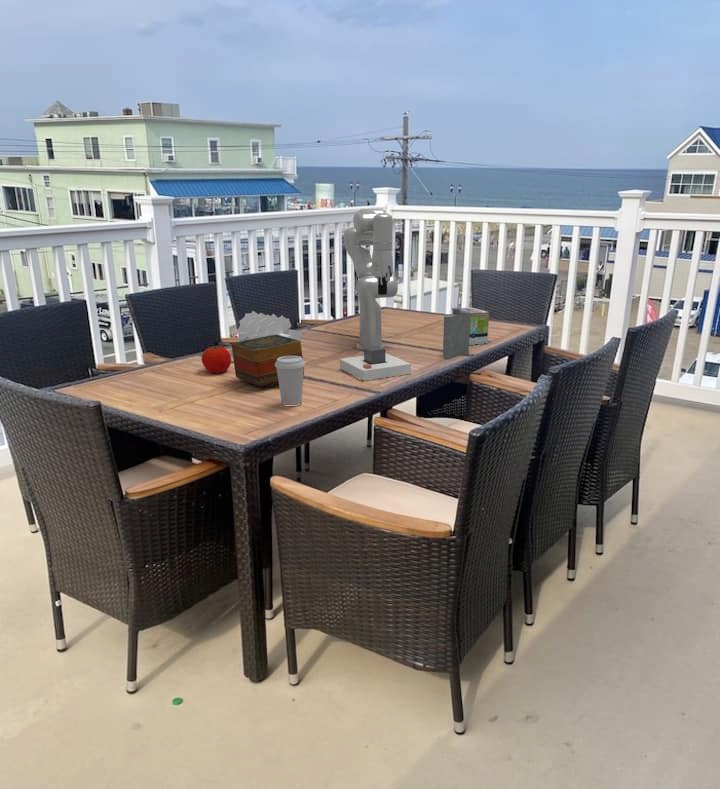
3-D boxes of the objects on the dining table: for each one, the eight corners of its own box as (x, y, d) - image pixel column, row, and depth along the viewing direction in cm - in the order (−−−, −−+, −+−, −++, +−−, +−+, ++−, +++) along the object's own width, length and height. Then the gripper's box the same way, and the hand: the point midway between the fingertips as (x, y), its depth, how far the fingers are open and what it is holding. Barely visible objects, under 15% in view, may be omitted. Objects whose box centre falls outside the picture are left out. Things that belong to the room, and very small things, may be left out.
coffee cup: (307, 398, 202) (305, 354, 197) (305, 408, 192) (304, 362, 188) (278, 399, 201) (276, 355, 197) (275, 408, 192) (272, 362, 188)
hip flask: (447, 359, 249) (449, 311, 243) (439, 357, 252) (440, 309, 246) (469, 352, 260) (472, 306, 254) (462, 351, 263) (463, 305, 257)
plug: (364, 368, 234) (364, 347, 232) (377, 366, 237) (377, 346, 234) (371, 371, 229) (371, 351, 226) (385, 369, 231) (385, 349, 229)
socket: (340, 368, 237) (339, 356, 236) (384, 362, 246) (384, 350, 244) (363, 381, 220) (363, 368, 219) (410, 374, 229) (411, 361, 227)
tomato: (229, 366, 243) (227, 341, 240) (234, 374, 232) (232, 348, 229) (200, 369, 239) (198, 343, 236) (204, 377, 228) (202, 350, 225)
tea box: (488, 343, 276) (490, 311, 271) (469, 345, 272) (470, 313, 268) (470, 337, 289) (472, 306, 285) (452, 339, 286) (453, 307, 281)
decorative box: (307, 386, 218) (308, 340, 214) (248, 391, 207) (248, 342, 203) (284, 376, 235) (285, 333, 232) (229, 379, 224) (229, 335, 221)
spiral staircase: (282, 370, 252) (242, 358, 266) (309, 345, 261) (269, 335, 276) (267, 334, 240) (226, 324, 255) (295, 309, 249) (255, 301, 264)
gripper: (365, 246, 241) (365, 292, 247) (383, 249, 229) (383, 298, 235) (381, 245, 245) (381, 291, 251) (400, 248, 232) (400, 296, 238)
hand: (382, 294), depth 243 cm, fingers closed
